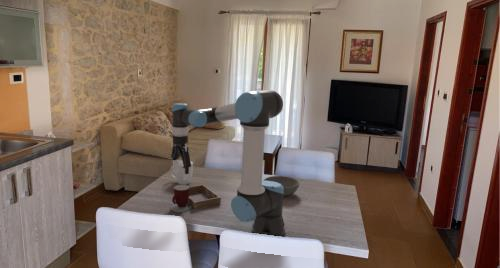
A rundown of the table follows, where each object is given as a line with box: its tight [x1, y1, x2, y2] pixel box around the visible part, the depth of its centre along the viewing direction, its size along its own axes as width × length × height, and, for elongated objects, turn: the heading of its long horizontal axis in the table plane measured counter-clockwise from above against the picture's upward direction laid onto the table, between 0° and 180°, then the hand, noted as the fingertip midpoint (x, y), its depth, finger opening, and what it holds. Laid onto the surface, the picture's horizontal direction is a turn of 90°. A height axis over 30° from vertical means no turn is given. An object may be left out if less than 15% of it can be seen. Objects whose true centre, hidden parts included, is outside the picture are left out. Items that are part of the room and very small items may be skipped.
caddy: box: [187, 184, 222, 210], centre depth 196 cm, size 22×15×4 cm
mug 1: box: [169, 159, 194, 185], centre depth 220 cm, size 15×11×13 cm
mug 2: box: [172, 184, 191, 207], centre depth 184 cm, size 11×8×10 cm
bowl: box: [262, 175, 300, 197], centre depth 208 cm, size 21×21×8 cm
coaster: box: [170, 203, 191, 213], centre depth 185 cm, size 10×10×1 cm
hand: (180, 176), depth 181 cm, fingers open, 13 cm apart
